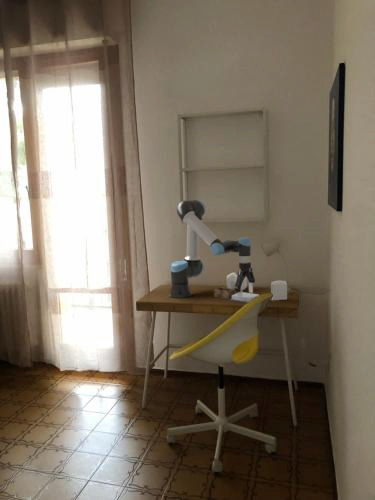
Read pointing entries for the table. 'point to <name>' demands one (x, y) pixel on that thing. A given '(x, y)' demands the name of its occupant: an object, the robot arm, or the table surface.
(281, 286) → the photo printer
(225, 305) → the table surface
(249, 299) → the cover plate
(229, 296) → the walnut box
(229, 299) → the rubber mat
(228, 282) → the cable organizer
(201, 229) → the robot arm
